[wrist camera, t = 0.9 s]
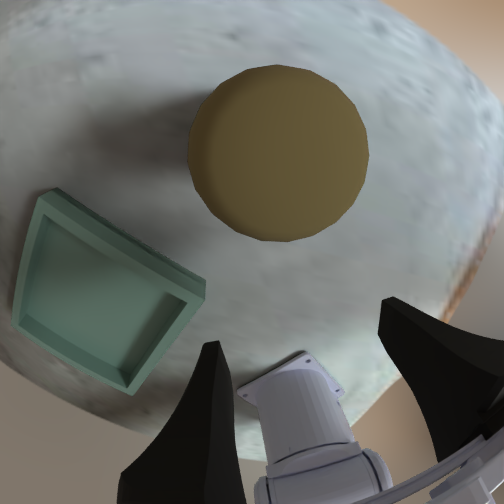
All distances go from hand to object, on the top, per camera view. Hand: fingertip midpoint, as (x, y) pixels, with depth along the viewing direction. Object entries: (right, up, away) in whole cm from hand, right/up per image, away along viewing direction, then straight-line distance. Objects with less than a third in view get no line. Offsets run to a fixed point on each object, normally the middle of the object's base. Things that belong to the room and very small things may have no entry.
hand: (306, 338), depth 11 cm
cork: (-3, +11, +5) cm, 12 cm away
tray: (-14, 0, +8) cm, 16 cm away
